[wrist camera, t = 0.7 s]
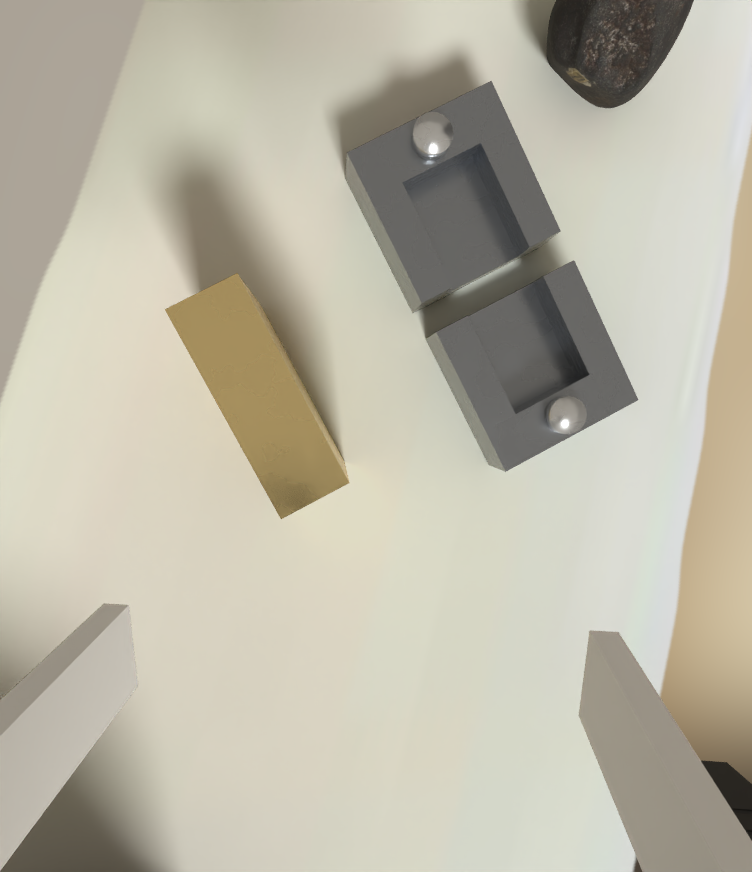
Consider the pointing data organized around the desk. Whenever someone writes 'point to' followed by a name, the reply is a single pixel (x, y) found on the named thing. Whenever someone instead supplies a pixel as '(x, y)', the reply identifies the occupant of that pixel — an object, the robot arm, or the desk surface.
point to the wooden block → (259, 394)
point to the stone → (612, 44)
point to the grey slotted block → (480, 255)
